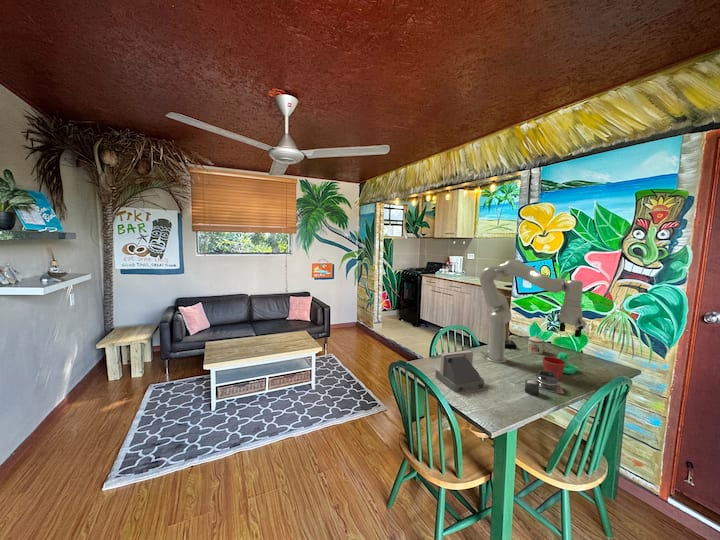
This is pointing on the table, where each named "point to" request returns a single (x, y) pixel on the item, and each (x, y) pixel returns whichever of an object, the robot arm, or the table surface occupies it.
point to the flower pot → (554, 366)
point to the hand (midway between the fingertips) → (569, 334)
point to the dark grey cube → (532, 387)
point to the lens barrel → (548, 382)
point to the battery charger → (510, 344)
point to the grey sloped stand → (458, 371)
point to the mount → (568, 367)
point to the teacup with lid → (536, 345)
